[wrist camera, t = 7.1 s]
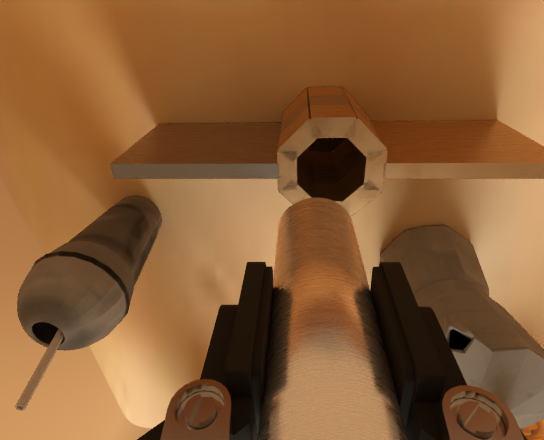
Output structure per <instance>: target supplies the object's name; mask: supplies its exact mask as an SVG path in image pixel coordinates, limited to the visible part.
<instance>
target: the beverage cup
mask: <svg viewBox="0 0 544 440" xmlns="http://www.w3.org/2000/svg"><path fill="white" fill-rule="evenodd" d="M161 222H162V219H161V214H160V212H159V209H158V208H157V207H156V206H155V205H154V203H152V202H151V201H149V200H148V199H146V198H143V197H140V196H130V197H126V198H124V199H123V200H121V201H120V202H119V203H117V204H116V205H114V206H113V207H111V208H110V209H109V210H108V211H106V212H105V213H104V214H103V215H101V216H100V217H99V218H98V219H96V220H95V221H94V222H93V223H91V224H90V225H89V226H88V227H86V228H85V229H84V230H83V231H82V232H80V233H79V234H78V235H77V236H75V237H74V238H73V239H72V240H70V241H69V242H68V243H66V244H64V245H62V246H61V247H59V248H57V249H56V250H54V251H53V252H51V253H49V254H46V255H44V256H43V257H41V258H40V259H39V260H37V261H36V262H35V263H34V265H33V267H32V269H31V271H30V272H29V274H28V275H27V277H26V279H25V280H24V282H23V284H22V286H21V287H20V290H19V293H18V301H17V302H18V303H17V312H18V317H19V320H20V322H21V325H22V327H23V329H24V330H25V332H26V333H27V334H28V335H29V336H30V337H31V338H32V339H33V340H35V341H36V342H37V343H39V344H41V345H43V346H45V347H48V348H47V350H46V352H45V354H44V356H43V357H42V359H41V361H40V363H39V365H38V366H37V368H36V370H35V372H34V374H33V375H32V377H31V379H30V381H29V383H28V384H27V387H26V388H25V390H24V392H23V393H22V395H21V397H20V399H19V400H18V402H17V404H16V406H15V408H16V409H18V410H24V409H25V408H26V407H27V405H28V403H29V401H30V399H31V397H32V395H33V393H34V392H35V390H36V388H37V386H38V384H39V382H40V380H41V379H42V377H43V375H44V373H45V371H46V369H47V367H48V365H49V364H50V362H51V360H52V358H53V356H54V354H55V352H56V351H57V350H74V349H80V348H84V347H87V346H89V345H91V344H93V343H95V342H97V341H99V340H101V339H103V338H104V337H105V336H107V335H108V334H109V333H110V332H111V331H112V330H113V329H114V328H115V327H116V325H118V324H119V323H120V322H121V321H122V319H123V318H124V317H125V316H126V314H127V313H128V310H129V305H130V301H131V297H132V294H133V289H134V285H135V283H136V281H137V279H138V277H139V274H140V272H141V270H142V268H143V266H144V263H145V261H146V259H147V257H148V254H149V252H150V250H151V248H152V246H153V243H154V241H155V239H156V237H157V234H158V230H159V228H160V226H161Z"/></svg>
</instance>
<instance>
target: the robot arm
mask: <svg viewBox="0 0 544 440" xmlns="http://www.w3.org/2000/svg"><path fill="white" fill-rule="evenodd" d="M273 289H274V287H273V269H272V267H266V263H265V262H247V265H246V270H245V275H244V280H243V285H242V289H241V294H240V299H239V304H238V305H221V306H220V309H219V312H218V315H217V319H216V323H215V327H214V330H213V334H212V338H211V341H210V345H209V349H208V353H207V356H206V360H205V364H204V367H203V371H202V375H201V378H200V380H195V381H192V382H190V383H188V384H186V385H184V386H183V387H182V388H181V389H179V390H178V391H177V392H176V393H175V395H174V396H173V397H172V399H171V401H170V403H169V406H168V409H167V413H166V418H165V420H164V421H163V422H161V423H160V424H158V425H157V426H156V427H154V428H153V429H151V430H150V431H148V432H147V433H146V434H144V435H143V436H141V437H140V438H139V439H137V440H258V432H259V421H260V411H261V405H262V402H263V396H264V385H265V375H266V364H267V353H268V342H269V332H270V321H271V310H272V299H273ZM370 293H371V297H372V301H373V305H374V309H375V312H376V316H377V320H378V324H379V328H380V332H381V336H382V340H383V344H384V348H385V352H386V356H387V360H388V363H389V367H390V371H391V375H392V379H393V383H394V387H395V391H396V395H397V399H398V403H399V407H400V410H401V414H402V418H403V422H404V426H405V430H406V434H407V438H408V440H528V439H526V438H525V437H523V436H522V433H521V431H520V428H519V426H518V424H517V421H516V419H515V417H514V416H513V414H512V412H511V411H510V409H509V408H508V407H507V406H506V405H505V404H504V403H503V402H502V401H501V400H500V399H499V398H498V397H496V396H495V395H493V394H492V393H490V392H488V391H486V390H483V389H481V388H478V387H474V386H469V385H467V383H466V381H465V379H464V377H463V375H462V372H461V370H460V368H459V366H458V363H457V361H456V359H455V357H454V355H453V352H452V350H451V348H450V346H449V344H448V341H447V339H446V337H445V335H444V332H443V330H442V328H441V326H440V324H439V321H438V319H437V317H436V315H435V312H434V311H433V309H432V308H431V307H420V306H418V304H417V302H416V299H415V297H414V294H413V292H412V289H411V287H410V285H409V282H408V280H407V277H406V275H405V272H404V270H403V267H402V265H401V263H400V262H380V264H379V267H373V271H372V280H371V290H370Z"/></svg>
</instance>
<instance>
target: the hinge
mask: <svg viewBox="0 0 544 440" xmlns="http://www.w3.org/2000/svg"><path fill="white" fill-rule="evenodd" d="M317 138H346V139H345V140H344V141H343V142H342V143H341V144H340V145H339V146H338V147H337V148H336V149H334V150H333V151H332V152H311V151H310V150H309V149H308V147H309V146H310V145H311V144H312V143H313V142H314V141H315V140H316V139H317ZM110 165H111V169H112V173H113V177H114V179H278V190H279V192H280V193H281V194H282V195H283V196H284V197H285V198H286V199H288V200H289V201H290V202H291V203H292V204H295V203H296V202H298V201H301V200H304V199H307V198H317V197H318V198H326V199H329V200H332V201H334V202H337V203H338V204H340V205H341V206H342V207H343V208H345V210H346V211H347V212H348V213H349V215H350V217H351V216H352V215H353V214H355V213H356V212H357V211H358V210H360V209H361V208H362V207H363V206H365V205H366V204H367V203H368V202H370V201H371V200H372V199H373V198H375V197H376V196H377V195H378V194H380V193H381V190H383V184H384V179H544V146H542V145H540V144H538V143H537V142H535V141H533V140H531V139H530V138H528V137H526V136H524V135H523V134H521V133H519V132H517V131H516V130H514V129H512V128H510V127H509V126H507V125H505V124H503V123H502V122H500V121H498V120H458V121H370V120H369V118H368V117H367V115H366V114H365V112H364V110H363V109H362V108H361V107H360V106H359V105H358V104H357V103H356V102H355V101H354V99H353V98H352V97H351V96H350V95H349V94H348V93H347V92H346V91H345V90H344V89H343V88H341V87H308V89H307V88H306V89H305V90H304V91H303V92H302V93H301V94H300V95H299V96H298V97H297V98H296V99H295V100H294V101H293V102H292V103H291V105H290V106H289V107H288V108H287V109H286V110H285V111H284V113H283V118H282V122H271V123H177V124H158V125H157V126H156V127H155V128H154V129H152V130H151V131H150V132H149V133H147V134H146V135H145V136H144V137H143V138H141V139H140V140H139V141H138V142H137V143H135V144H134V145H133V146H132V147H130V148H129V149H128V150H127V151H126V152H124V153H123V154H122V155H121V156H120V157H118V158H117V159H116V160H115V161H113V162H112V163H111V164H110Z"/></svg>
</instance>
